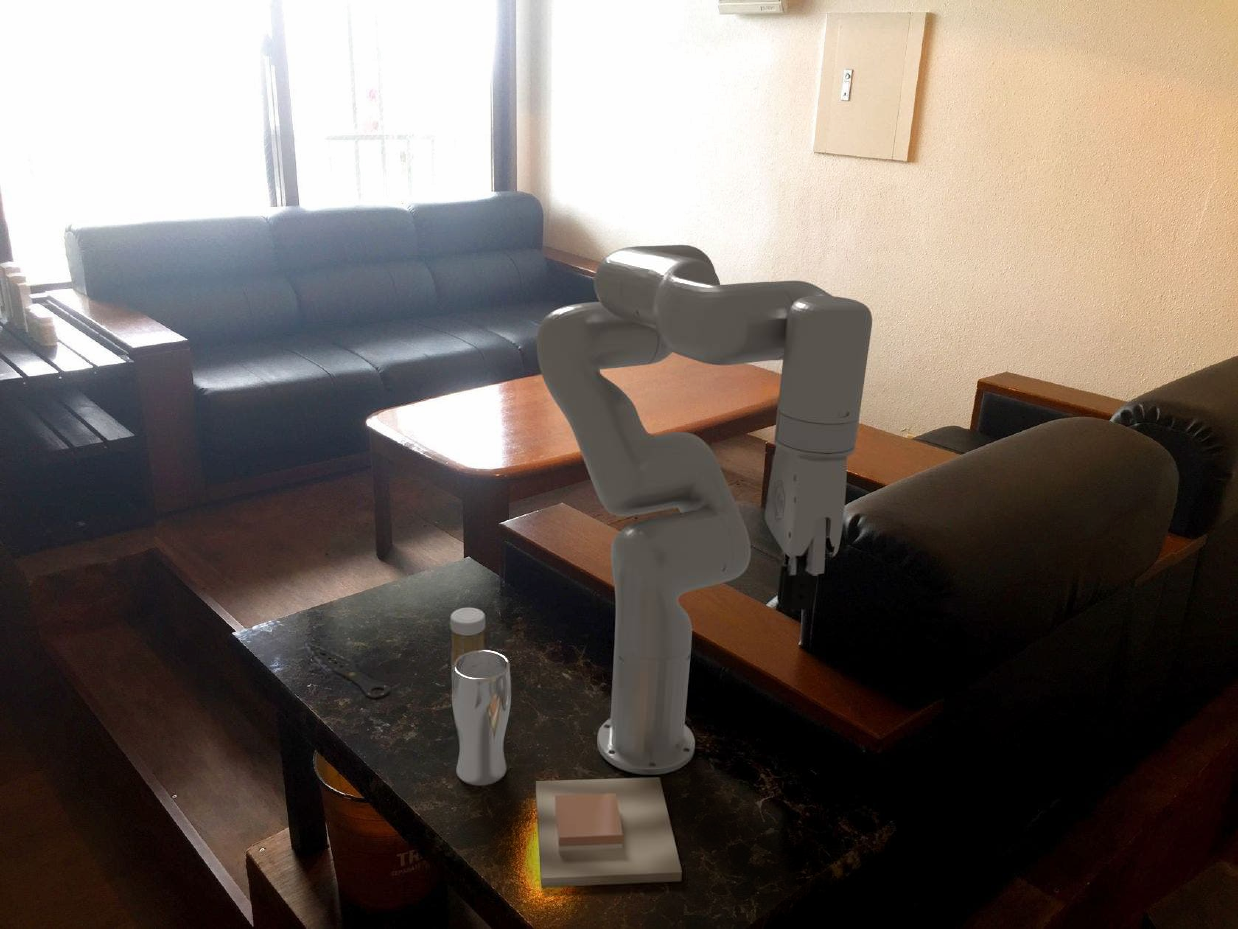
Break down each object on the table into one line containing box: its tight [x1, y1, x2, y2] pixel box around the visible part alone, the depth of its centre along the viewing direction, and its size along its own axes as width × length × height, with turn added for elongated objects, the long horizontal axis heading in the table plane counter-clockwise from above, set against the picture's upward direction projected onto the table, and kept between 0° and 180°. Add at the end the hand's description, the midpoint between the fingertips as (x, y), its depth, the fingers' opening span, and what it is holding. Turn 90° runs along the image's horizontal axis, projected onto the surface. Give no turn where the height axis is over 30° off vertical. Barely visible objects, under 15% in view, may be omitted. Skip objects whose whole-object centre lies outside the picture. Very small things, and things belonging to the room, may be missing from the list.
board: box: [535, 776, 683, 888], centre depth 116 cm, size 16×15×1 cm
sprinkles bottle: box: [449, 607, 486, 705], centre depth 137 cm, size 5×5×13 cm
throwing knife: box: [303, 642, 391, 700], centre depth 146 cm, size 4×20×1 cm, turn 48°
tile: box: [555, 794, 623, 851], centre depth 115 cm, size 2×7×7 cm
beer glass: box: [451, 649, 512, 787], centre depth 123 cm, size 7×7×15 cm
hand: (794, 605), depth 102 cm, fingers closed
